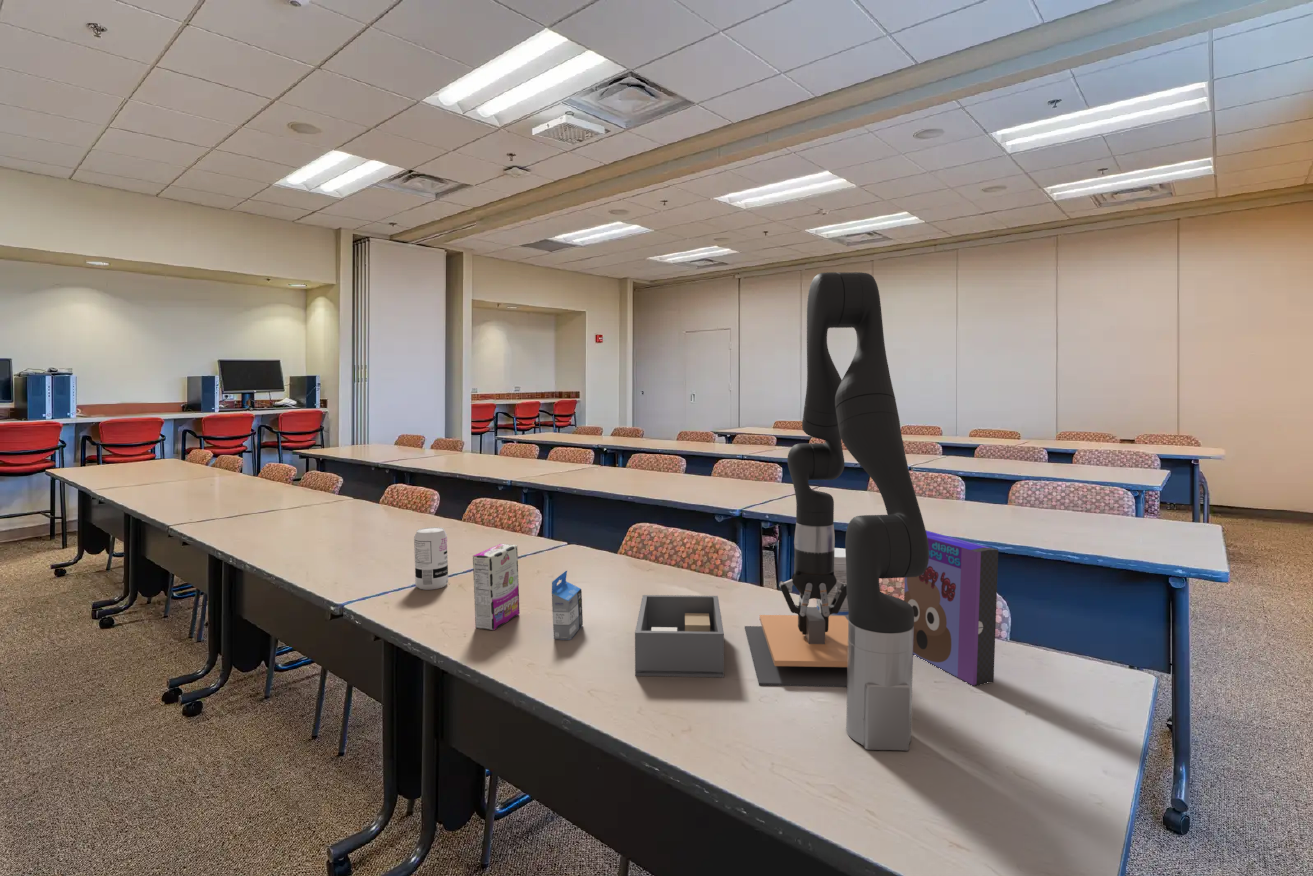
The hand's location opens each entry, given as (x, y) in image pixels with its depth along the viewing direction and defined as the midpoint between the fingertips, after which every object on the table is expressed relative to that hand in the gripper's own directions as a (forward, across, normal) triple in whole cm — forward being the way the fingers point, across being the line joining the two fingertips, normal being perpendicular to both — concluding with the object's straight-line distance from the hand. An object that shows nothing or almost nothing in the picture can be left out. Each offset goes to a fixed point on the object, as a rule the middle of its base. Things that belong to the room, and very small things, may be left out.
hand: (813, 633), depth 129 cm
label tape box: (+5, -50, +10) cm, 51 cm away
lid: (+2, 0, 0) cm, 2 cm away
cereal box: (+5, +24, -4) cm, 25 cm away
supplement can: (+4, -92, +42) cm, 101 cm away
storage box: (+4, -26, 0) cm, 26 cm away
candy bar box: (+5, -67, +16) cm, 69 cm away
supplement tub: (+5, +10, +23) cm, 26 cm away
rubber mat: (+4, 0, 0) cm, 4 cm away
